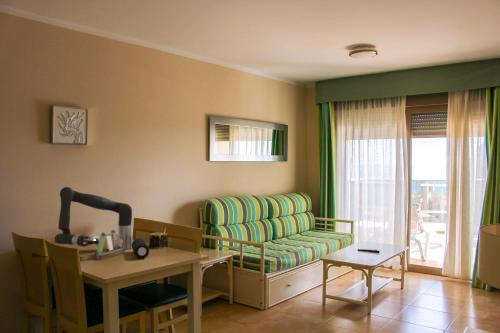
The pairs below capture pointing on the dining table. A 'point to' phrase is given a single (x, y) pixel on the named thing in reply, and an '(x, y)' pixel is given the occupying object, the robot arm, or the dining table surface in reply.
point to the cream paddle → (109, 242)
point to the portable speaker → (140, 248)
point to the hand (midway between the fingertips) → (100, 242)
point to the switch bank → (107, 253)
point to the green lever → (101, 243)
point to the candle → (158, 239)
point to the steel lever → (114, 239)
